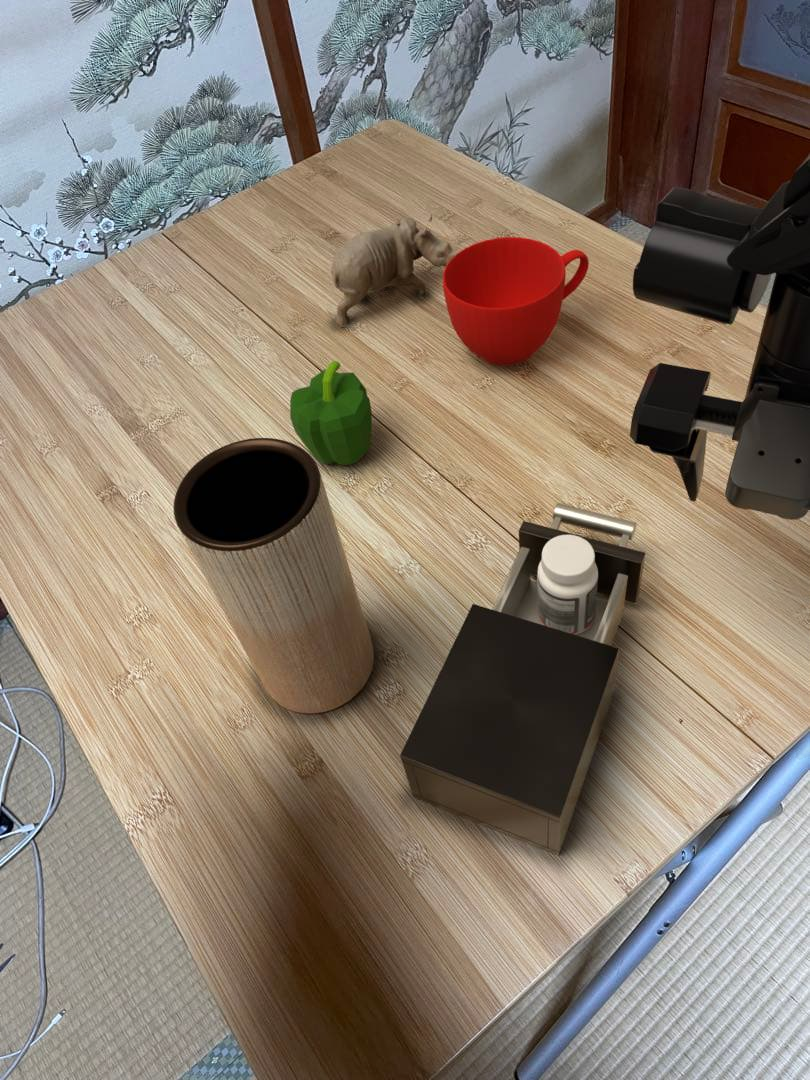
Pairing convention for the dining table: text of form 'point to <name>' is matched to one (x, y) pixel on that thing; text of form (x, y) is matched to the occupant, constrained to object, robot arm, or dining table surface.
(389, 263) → the rhinoceros figurine
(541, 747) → the drawer cabinet
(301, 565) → the planter
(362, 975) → the dining table surface
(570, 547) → the pill bottle
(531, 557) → the drawer
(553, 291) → the ceramic cup
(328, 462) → the bell pepper
